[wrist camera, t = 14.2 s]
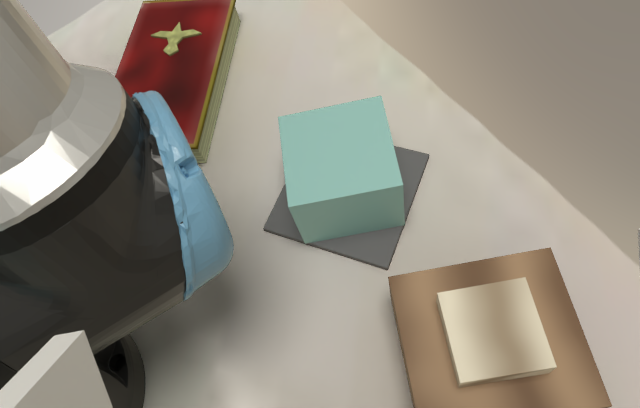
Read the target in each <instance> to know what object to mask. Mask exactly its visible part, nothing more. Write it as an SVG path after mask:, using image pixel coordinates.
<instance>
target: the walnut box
mask: <svg viewBox="0 0 640 408" xmlns="http://www.w3.org/2000/svg"><path fill="white" fill-rule="evenodd" d="M388 279H389V286H390V294H391V300H392V305H393V310H394V315H395V320H396V324H397V329H398V334H399V339H400V344H401V349H402V353H403V358H404V363H405V368H406V373H407V377H408V382H409V387H410V392H411V397H412V401H413V406H414V408H608V407H611V406H612V405H611V402H610V399H609V397H608V394H607V392H606V389H605V386H604V384H603V381H602V379H601V376H600V374H599V371H598V368H597V366H596V363H595V361H594V358H593V356H592V353H591V350H590V348H589V345H588V343H587V340H586V338H585V335H584V332H583V330H582V327H581V325H580V322H579V320H578V317H577V314H576V312H575V309H574V307H573V304H572V302H571V299H570V296H569V294H568V291H567V289H566V286H565V283H564V281H563V278H562V276H561V273H560V271H559V268H558V265H557V263H556V260H555V258H554V255H553V253H552V250H551V247H550V248H545V249H539V250H534V251H528V252H523V253H517V254H512V255H506V256H501V257H495V258H490V259H484V260H479V261H473V262H468V263H463V264H457V265H452V266H446V267H441V268H435V269H430V270H424V271H419V272H413V273H408V274H402V275H397V276H391V277H388Z"/></svg>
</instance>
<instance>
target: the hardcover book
mask: <svg viewBox="0 0 640 408" xmlns="http://www.w3.org/2000/svg"><path fill="white" fill-rule="evenodd" d="M235 2H236V0H154V1H143V3H142V6H141V8H140V11H139V14H138V16H137V19H136V22H135V24H134V27H133V30H132V32H131V35H130V38H129V40H128V43H127V46H126V49H125V51H124V54H123V57H122V59H121V62H120V65H119V67H118V70H117V73H116V75H115V77H116V78H117V79H118V81H119V82H120V84H121V85H122V86H123V88H124V89H125V91H126V92H127V93H128V95H129V96H130V98H131V97H132V96H133V94H135V93H136V92H137V94H138V93H139V92H142V93H144V92H147V91H156V92H158V93H159V94H161V96H162V97H163V98H164V100H165V101H166V103H167V104H168V106H169V108H170V109H171V111H172V113H173V115H174V117H175V118H176V120H177V122H178V124H179V126H180V128H181V129H182V131H183V133H184V135H185V137H186V139H187V141H188V143H189V145H190V148H191V150H192V152H193V154H194V156H195V158H196V160H197V163H206V161H207V157H208V153H209V149H210V145H211V141H212V137H213V132H214V128H215V124H216V120H217V116H218V112H219V108H220V104H221V100H222V96H223V91H224V87H225V83H226V79H227V75H228V71H229V67H230V63H231V59H232V54H233V50H234V46H235V42H236V38H237V34H238V30H239V26H240V19H239V16H238V14H237V11H236V8H235Z"/></svg>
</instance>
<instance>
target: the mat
mask: <svg viewBox="0 0 640 408" xmlns="http://www.w3.org/2000/svg"><path fill="white" fill-rule="evenodd" d="M394 149H395V153H396V158H397V162H398V166H399V170H400V174H401V178H402V182H403V191H404V217H405V221H406V219H407V216H408V213H409V210H410V208H411V205H412V202H413V200H414V197H415V194H416V191H417V189H418V186H419V183H420V180H421V178H422V175H423V172H424V169H425V167H426V164H427V161H428V159H429V154H425V153H421V152H417V151H413V150H409V149H404V148H400V147H396V146H394ZM403 227H404V225H403V226H397V227H392V228H387V229H381V230H376V231H371V232H365V233H360V234H355V235H349V236H344V237H339V238H334V239H328V240H323V241H318V242H312V243H307V244H308V245H311V246H314V247H317V248H320V249H323V250H326V251H329V252H333V253H336V254H339V255H342V256H345V257H348V258H351V259H354V260H357V261H361V262H364V263H367V264H370V265H373V266H376V267H379V268H382V269H386V270H388V268H389V265H390V262H391V260H392V257H393V254H394V251H395V249H396V246H397V243H398V241H399V238H400V235H401V232H402V230H403ZM263 229H264V231H267V232H270V233H273V234H276V235H279V236H283V237H286V238H289V239H292V240H295V241H298V242H301V243H304V241H303V238H302V236H301V234H300V232H299V230H298V228H297V225H296V223H295V221H294V219H293V217H292V214H291V212H290V210H289V208H288V201H287V192H286V183H285V185H284V187H283V189H282V191H281V193H280V195H279V197H278V199H277V201H276V203H275V205H274V208H273V210H272V212H271V214H270V216H269V218H268V220H267V222H266V224H265V226H264V228H263ZM304 244H305V243H304Z"/></svg>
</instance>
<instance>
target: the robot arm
mask: <svg viewBox="0 0 640 408" xmlns="http://www.w3.org/2000/svg"><path fill="white" fill-rule="evenodd" d="M638 239H639V261H640V229H638ZM233 250H234V245H233V239H232V236H231V233H230V230H229V228H228V225H227V223H226V220H225V218H224V216H223V213H222V211H221V209H220V207H219V205H218V202H217V200H216V198H215V196H214V194H213V192H212V190H211V188H210V186H209V184H208V182H207V180H206V178H205V176H204V174H203V172H202V170H201V168H200V167H199V166H198V164H197V160H196V158H195V156H194V154H193V152H192V150H191V148H190V145H189V143H188V141H187V139H186V137H185V135H184V133H183V131H182V129H181V128H180V126H179V124H178V122H177V120H176V118H175V117H174V115H173V113H172V111H171V109H170V108H169V106H168V104H167V103H166V101H165V100H164V98H163V97H162V96H161V94H159V93H158V92H156V91H147V92H144V93H142V92H139V93H138V94H137V92H136V93H135V94H133V96H132V97H131V98H130V96H129V95H128V93H127V92H126V91H125V89H124V88H123V86H122V85H121V84H120V82H119V81H118V79H117V78H116V77H114V76H113V75H112V74H111V73H109V72H108V71H106V70H103V69H100V68H97V67H91V66H85V65H78V64H72V63H68V62H66V61H65V60H64V59H63V58H62V56H61V55H60V54H59V52H58V51H57V50H56V49H55V47H54V46H53V45H52V43H51V42H50V41H49V40H48V38H47V37H46V36H45V34H44V33H43V32H42V31H41V29H40V28H39V27H38V25H37V24H36V23H35V22H34V20H33V19H32V18H31V16H30V15H29V14H28V13H27V11H26V10H25V9H24V7H23V6H22V5H21V3H20V2H19V1H18V0H0V408H142V406H143V400H144V392H145V375H144V367H143V363H142V359H141V356H140V353H139V350H138V348H137V346H136V344H135V343H134V341H133V339H132V338H131V337H130V335H129V333H130V332H132V331H134V330H135V329H137V328H139V327H140V326H142V325H144V324H145V323H147V322H149V321H150V320H152V319H154V318H155V317H157V316H158V315H160V314H162V313H163V312H165V311H167V310H168V309H170V308H172V307H173V306H175V305H177V304H178V303H180V302H182V301H184V300H187V299H189V298H190V297H191V296H192V294H193V292H194V291H195V290H197V289H198V288H200V287H201V286H202V285H204V284H205V283H207V282H208V281H209V280H211V279H212V278H214V277H215V276H216V275H218V274H219V273H220V272H222V271H223V270H224V269H225V268H226V267H227V266H228V264H229V262H230V261H231V258H232V256H233Z"/></svg>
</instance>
